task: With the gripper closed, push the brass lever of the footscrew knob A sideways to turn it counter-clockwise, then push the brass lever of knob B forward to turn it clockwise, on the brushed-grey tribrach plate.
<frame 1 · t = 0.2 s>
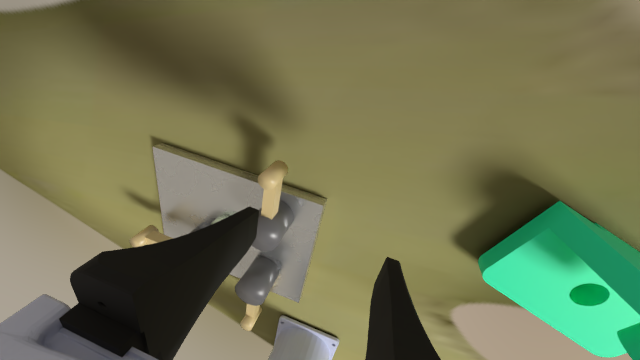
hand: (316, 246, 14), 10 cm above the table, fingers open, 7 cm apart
camera mount: (568, 266, 21), on the table
knob A: (272, 204, 22), point 3 cm above the table, hinge at 0.0°
knob B: (173, 243, 29), point 3 cm above the table, hinge at 0.0°
knob C: (256, 294, 29), point 3 cm above the table, hinge at 0.0°
tribrach plate: (237, 223, 29), on the table
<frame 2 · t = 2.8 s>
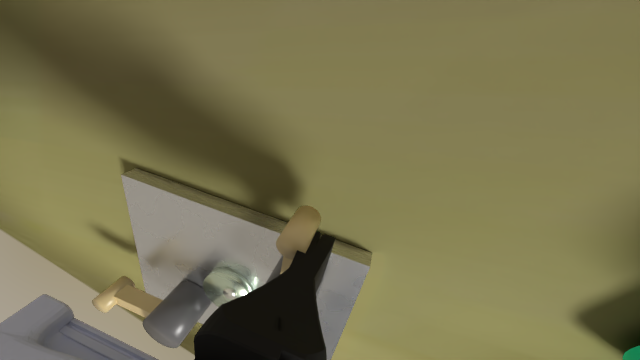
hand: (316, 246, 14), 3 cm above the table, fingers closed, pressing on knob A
knob A: (295, 267, 15), point 3 cm above the table, hinge at 0.5°, touching gripper
knob B: (153, 302, 21), point 3 cm above the table, hinge at 0.0°
tribrach plate: (240, 275, 21), on the table
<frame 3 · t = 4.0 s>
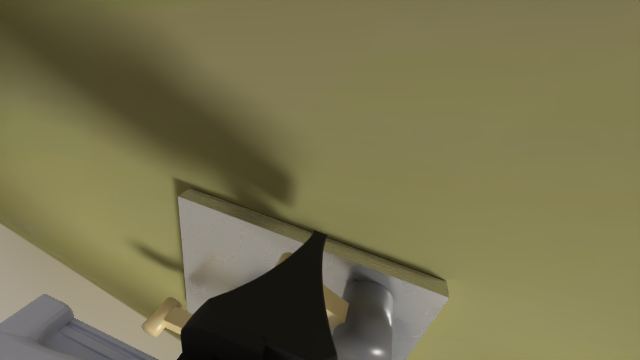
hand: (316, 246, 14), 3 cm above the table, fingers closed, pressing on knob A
knob A: (332, 302, 15), point 3 cm above the table, hinge at 68.1°, touching gripper
knob B: (203, 325, 20), point 3 cm above the table, hinge at 0.0°
tribrach plate: (292, 297, 21), on the table
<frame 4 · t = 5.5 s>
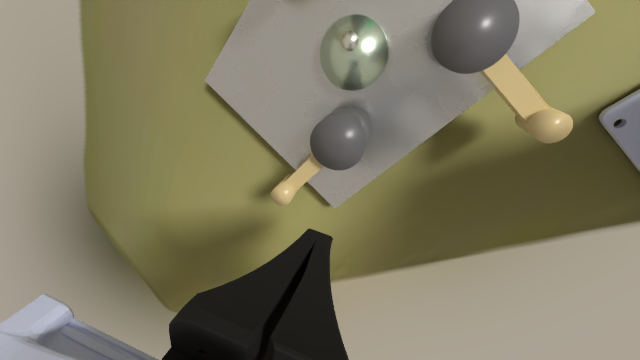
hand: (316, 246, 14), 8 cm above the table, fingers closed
knob B: (318, 158, 18), point 3 cm above the table, hinge at 0.0°
knob C: (496, 70, 13), point 3 cm above the table, hinge at 0.0°
tribrach plate: (358, 53, 17), on the table
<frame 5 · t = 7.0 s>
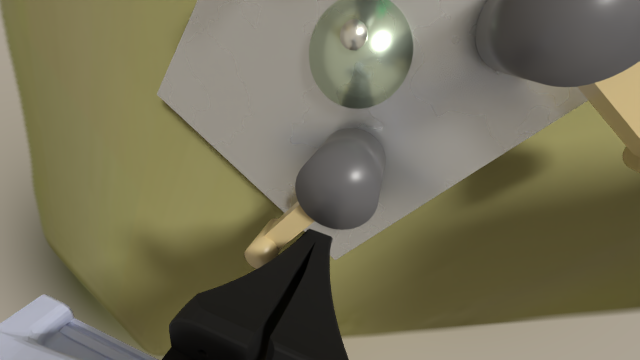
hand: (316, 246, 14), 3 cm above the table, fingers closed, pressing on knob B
knob B: (311, 203, 12), point 3 cm above the table, hinge at 0.0°, touching gripper
knob C: (605, 79, 8), point 3 cm above the table, hinge at 0.0°
tribrach plate: (365, 54, 12), on the table
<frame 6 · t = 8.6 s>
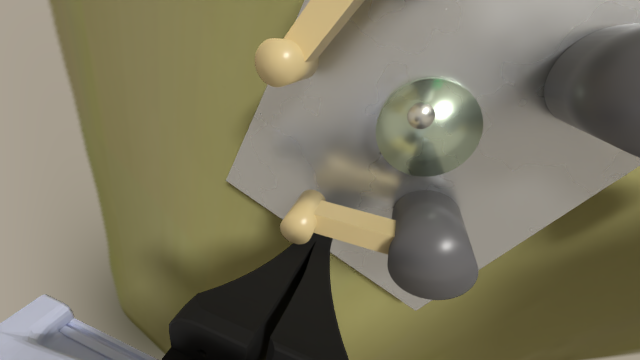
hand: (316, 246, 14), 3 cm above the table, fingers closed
knob B: (375, 226, 12), point 3 cm above the table, hinge at -66.5°
tribrach plate: (423, 119, 12), on the table
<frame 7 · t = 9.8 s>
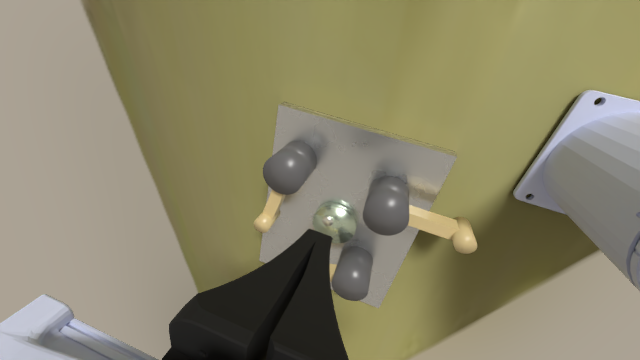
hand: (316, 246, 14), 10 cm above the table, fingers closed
knob A: (281, 188, 22), point 3 cm above the table, hinge at 77.7°
knob B: (328, 269, 25), point 3 cm above the table, hinge at -72.7°
knob C: (417, 214, 20), point 3 cm above the table, hinge at 0.0°
tribrach plate: (338, 213, 25), on the table
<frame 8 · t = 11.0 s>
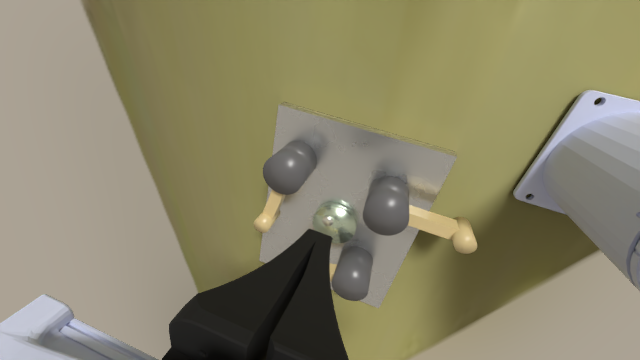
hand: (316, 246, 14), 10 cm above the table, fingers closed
knob A: (281, 188, 22), point 3 cm above the table, hinge at 77.7°
knob B: (328, 268, 25), point 3 cm above the table, hinge at -73.7°
knob C: (417, 214, 20), point 3 cm above the table, hinge at 0.0°
tribrach plate: (338, 213, 25), on the table
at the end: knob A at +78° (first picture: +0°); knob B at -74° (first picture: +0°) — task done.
